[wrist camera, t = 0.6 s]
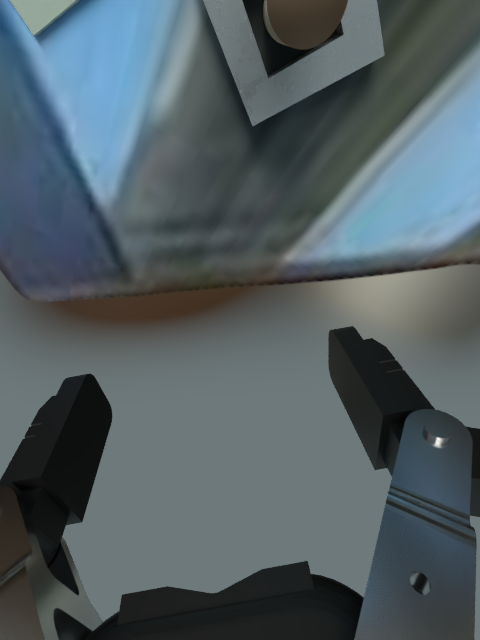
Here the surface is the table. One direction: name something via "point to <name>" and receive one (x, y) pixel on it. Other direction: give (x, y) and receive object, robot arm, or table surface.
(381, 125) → the table surface
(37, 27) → the tile
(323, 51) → the block
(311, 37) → the peg
